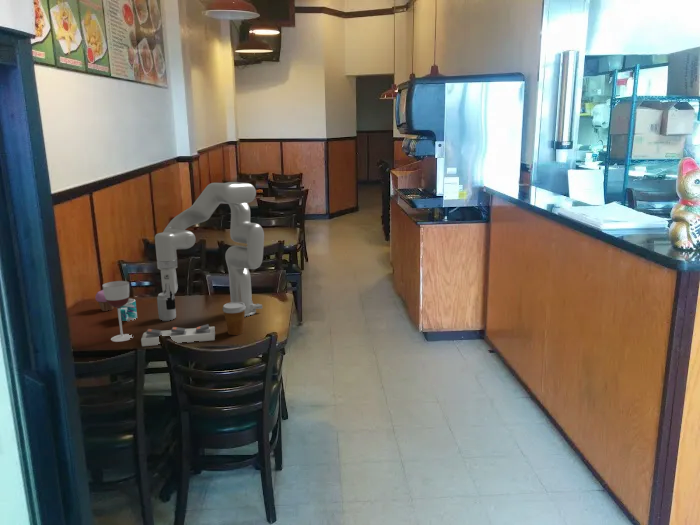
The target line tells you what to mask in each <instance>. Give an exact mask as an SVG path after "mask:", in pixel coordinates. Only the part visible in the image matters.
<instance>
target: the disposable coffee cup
mask: <svg viewBox="0 0 700 525" xmlns="http://www.w3.org/2000/svg"><path fill="white" fill-rule="evenodd" d="M245 308H246V306H245V304H244V303H242V302H231V301H230V302H227V303H225V304H223V306H222V311H223V314H224V319H225V325H226V329H227V334H228V335H231V336H237V335H238V334H239V335H241V334H243V333H244V329H245V328H244V327H245V317H244V315H245Z"/></svg>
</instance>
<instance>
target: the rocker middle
mask: <svg viewBox="0 0 700 525" xmlns="http://www.w3.org/2000/svg"><path fill="white" fill-rule="evenodd" d="M185 329H186V327H177V326H172V328H171V330H172V331H171V332H177V333H184V332H185Z"/></svg>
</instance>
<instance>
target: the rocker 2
mask: <svg viewBox="0 0 700 525" xmlns="http://www.w3.org/2000/svg"><path fill="white" fill-rule="evenodd" d="M209 327H210V324H209V323H207V324H203V325H201V326H197V327H195V328H196V332H199V331H203V330H206V329H209Z"/></svg>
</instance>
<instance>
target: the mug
mask: <svg viewBox="0 0 700 525" xmlns="http://www.w3.org/2000/svg"><path fill="white" fill-rule="evenodd" d="M116 309H117V311H118V308H116ZM137 311H138V310H137V301H136V299H135V298H129V300H128V302H127V303H126V304H125V305H124V306H122V307H120V314H121V322H122V321H127V322H131V321H130V320H132V321H135V320H136V318H137V319H138V312H137ZM117 317H118V316H117ZM134 319H135V320H134ZM118 320H119V317H118Z"/></svg>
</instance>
